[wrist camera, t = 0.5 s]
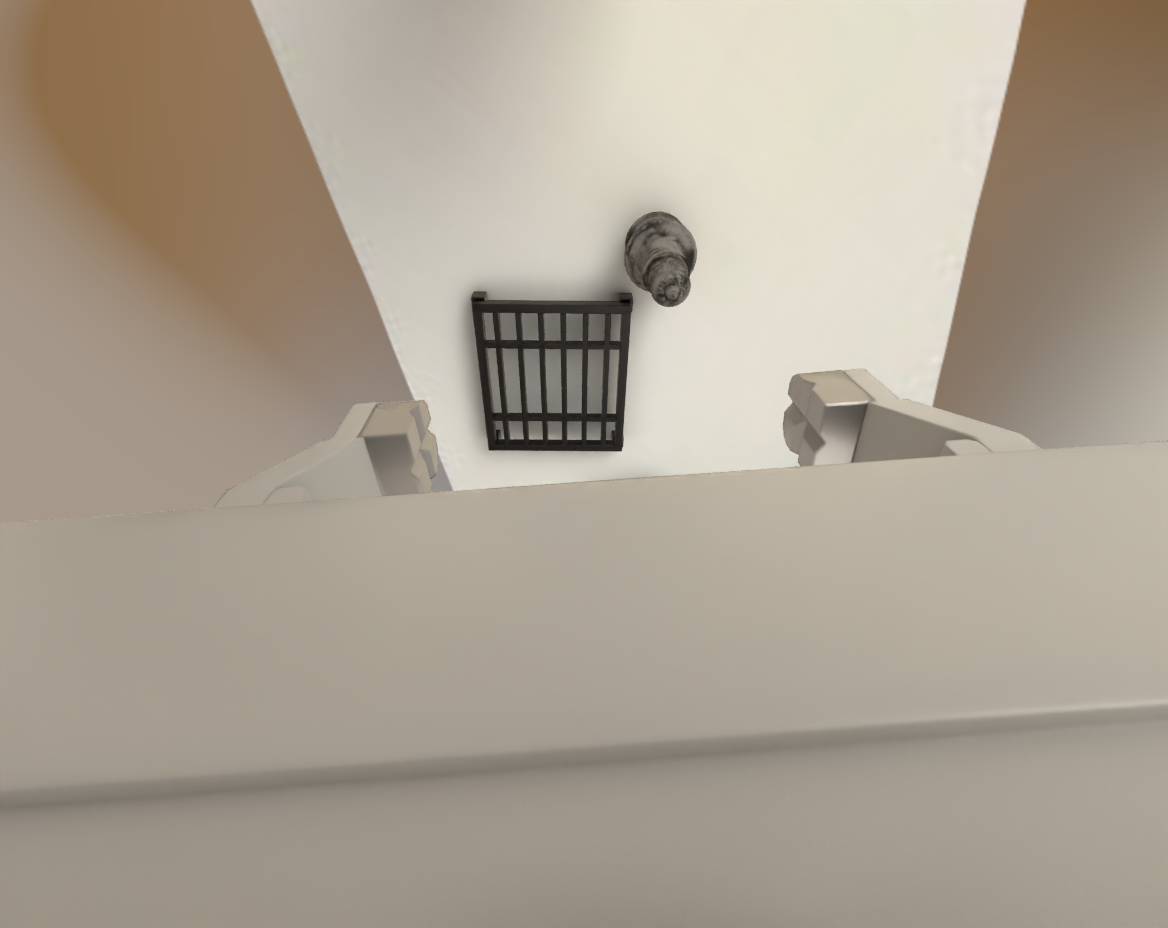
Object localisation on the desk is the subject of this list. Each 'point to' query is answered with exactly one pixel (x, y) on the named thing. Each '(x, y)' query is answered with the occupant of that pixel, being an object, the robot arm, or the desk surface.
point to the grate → (541, 307)
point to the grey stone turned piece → (661, 257)
